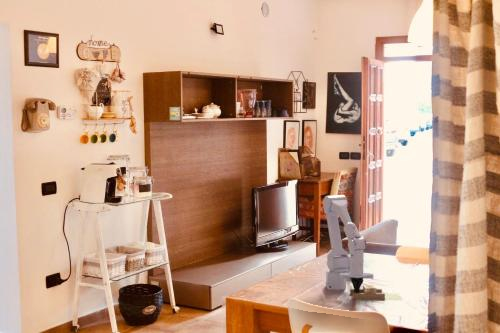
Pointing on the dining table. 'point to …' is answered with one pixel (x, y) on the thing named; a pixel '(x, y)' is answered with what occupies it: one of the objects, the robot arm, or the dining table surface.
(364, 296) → the chute
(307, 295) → the dining table surface
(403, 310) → the dining table surface
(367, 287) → the birch block
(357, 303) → the dining table surface
